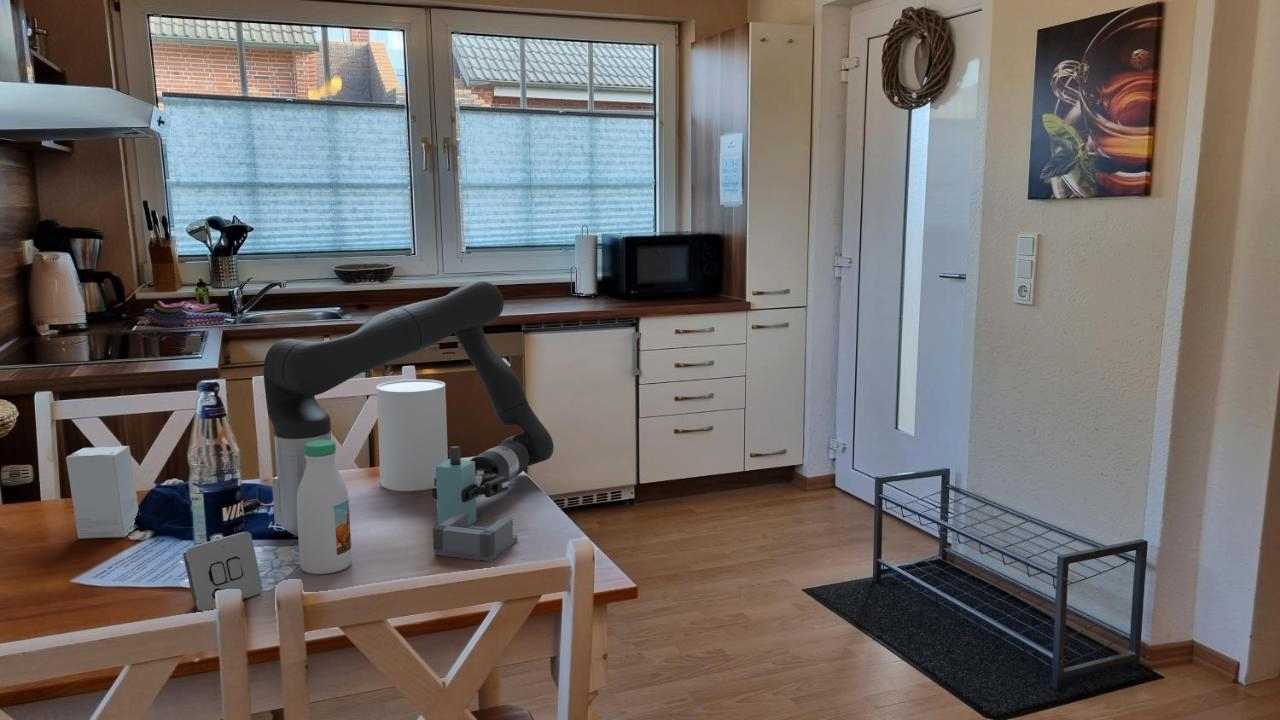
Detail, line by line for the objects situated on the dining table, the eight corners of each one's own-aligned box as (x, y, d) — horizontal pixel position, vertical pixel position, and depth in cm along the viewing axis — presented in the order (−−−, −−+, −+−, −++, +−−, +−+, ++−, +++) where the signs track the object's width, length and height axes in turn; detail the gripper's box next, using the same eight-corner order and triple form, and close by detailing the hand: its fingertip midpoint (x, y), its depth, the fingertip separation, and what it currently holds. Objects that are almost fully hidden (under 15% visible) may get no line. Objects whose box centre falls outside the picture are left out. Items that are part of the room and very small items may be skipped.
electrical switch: (201, 615, 130) (193, 550, 129) (183, 609, 133) (175, 545, 132) (264, 594, 137) (257, 532, 136) (246, 588, 140) (239, 528, 139)
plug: (451, 517, 170) (449, 442, 168) (476, 520, 169) (474, 444, 167) (437, 526, 166) (435, 449, 163) (463, 529, 164) (460, 451, 162)
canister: (418, 468, 202) (414, 376, 199) (462, 478, 194) (459, 384, 191) (366, 483, 191) (362, 386, 188) (411, 495, 184) (407, 394, 180)
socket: (464, 534, 162) (463, 509, 161) (517, 540, 159) (516, 515, 158) (433, 555, 152) (432, 528, 151) (489, 562, 149) (489, 535, 148)
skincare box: (141, 527, 165) (134, 444, 163) (123, 539, 159) (116, 454, 157) (92, 527, 165) (84, 445, 162) (73, 539, 159) (64, 454, 156)
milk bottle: (322, 579, 142) (315, 451, 139) (289, 569, 146) (281, 444, 143) (362, 563, 149) (356, 440, 145) (329, 553, 153) (323, 434, 149)
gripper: (458, 447, 181) (411, 471, 165) (526, 453, 177) (485, 478, 161) (459, 484, 182) (413, 511, 166) (527, 491, 178) (486, 520, 162)
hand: (449, 495), depth 164 cm, fingers closed on plug, 5 cm apart
